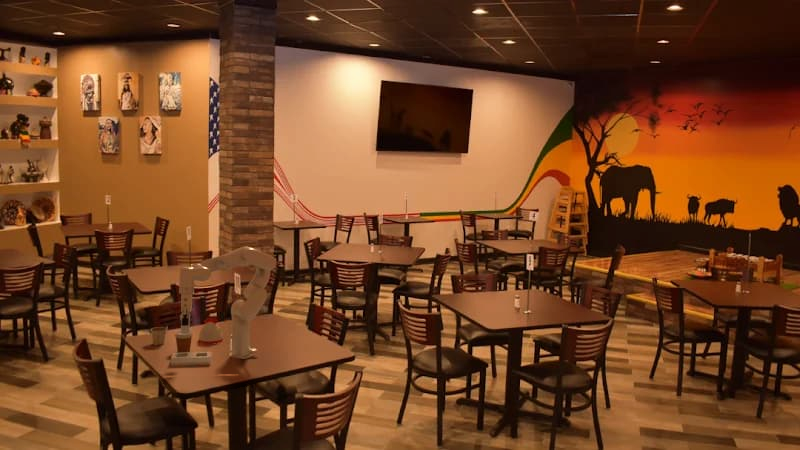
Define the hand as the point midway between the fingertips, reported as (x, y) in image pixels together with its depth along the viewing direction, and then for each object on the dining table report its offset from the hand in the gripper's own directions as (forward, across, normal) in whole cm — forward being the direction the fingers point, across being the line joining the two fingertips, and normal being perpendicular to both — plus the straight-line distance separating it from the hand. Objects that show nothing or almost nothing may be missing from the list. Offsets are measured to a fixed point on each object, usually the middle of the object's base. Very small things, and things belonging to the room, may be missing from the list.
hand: (185, 323), depth 359 cm
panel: (+22, 0, -4) cm, 22 cm away
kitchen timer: (+21, +44, -12) cm, 51 cm away
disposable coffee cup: (+22, +20, +2) cm, 29 cm away
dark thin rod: (+22, -7, -5) cm, 23 cm away
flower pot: (+22, +41, +17) cm, 50 cm away
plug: (+5, 0, 0) cm, 5 cm away
